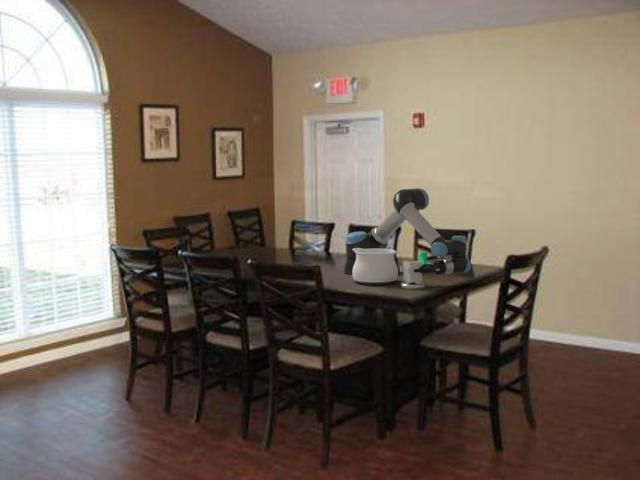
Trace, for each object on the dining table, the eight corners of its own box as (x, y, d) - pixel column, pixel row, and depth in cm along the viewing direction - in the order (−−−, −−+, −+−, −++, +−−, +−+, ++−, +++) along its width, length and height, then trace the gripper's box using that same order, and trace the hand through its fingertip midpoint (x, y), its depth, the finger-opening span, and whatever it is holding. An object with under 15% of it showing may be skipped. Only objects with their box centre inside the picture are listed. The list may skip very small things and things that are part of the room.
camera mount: (436, 269, 428) (436, 252, 427) (424, 270, 426) (424, 252, 425) (429, 266, 440) (429, 250, 439) (417, 267, 438) (417, 250, 437)
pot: (410, 281, 385) (410, 249, 383) (382, 288, 367) (382, 254, 365) (368, 276, 404) (368, 245, 402) (340, 282, 386) (339, 250, 384)
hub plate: (407, 290, 360) (407, 274, 359) (396, 286, 371) (396, 271, 370) (428, 288, 365) (428, 272, 364) (416, 284, 376) (416, 269, 375)
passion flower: (446, 271, 456) (437, 256, 451) (438, 265, 465) (429, 251, 460) (460, 260, 457) (451, 246, 452) (451, 255, 466) (443, 241, 462)
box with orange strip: (409, 282, 363) (409, 261, 362) (403, 280, 370) (403, 260, 368) (422, 281, 366) (422, 260, 365) (415, 279, 372) (415, 259, 371)
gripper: (453, 276, 365) (413, 280, 356) (432, 271, 383) (394, 274, 375) (453, 262, 364) (413, 265, 356) (432, 257, 382) (394, 260, 374)
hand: (403, 270), depth 365 cm, fingers closed on box with orange strip, 7 cm apart
